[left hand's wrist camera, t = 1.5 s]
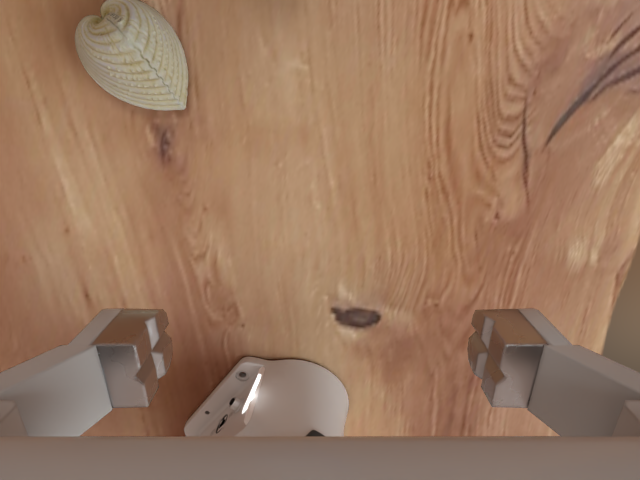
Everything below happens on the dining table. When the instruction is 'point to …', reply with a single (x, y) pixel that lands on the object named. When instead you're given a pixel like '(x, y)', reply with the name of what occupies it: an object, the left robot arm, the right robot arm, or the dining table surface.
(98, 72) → the seashell
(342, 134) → the dining table surface
